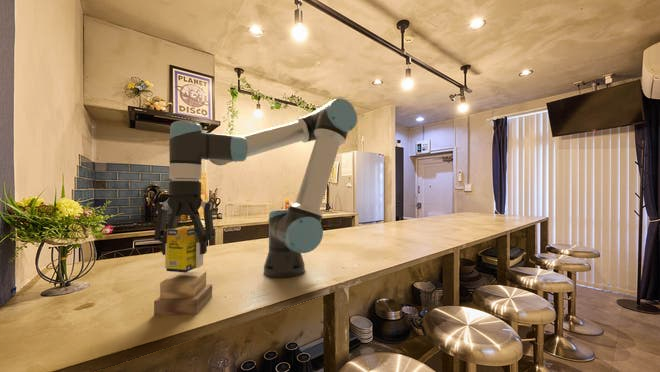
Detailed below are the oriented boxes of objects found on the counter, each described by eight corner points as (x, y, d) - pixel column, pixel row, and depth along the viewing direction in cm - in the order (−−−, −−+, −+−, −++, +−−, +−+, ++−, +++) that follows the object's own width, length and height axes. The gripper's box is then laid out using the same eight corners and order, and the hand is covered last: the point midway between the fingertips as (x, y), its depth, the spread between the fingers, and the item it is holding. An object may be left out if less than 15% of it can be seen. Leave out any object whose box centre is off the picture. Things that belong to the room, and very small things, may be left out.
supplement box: (185, 273, 64) (186, 229, 64) (165, 271, 65) (166, 229, 65) (202, 266, 70) (202, 226, 70) (183, 264, 71) (183, 225, 71)
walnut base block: (212, 298, 72) (212, 284, 72) (196, 315, 62) (196, 299, 62) (175, 299, 71) (175, 285, 72) (153, 317, 61) (154, 300, 62)
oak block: (206, 285, 71) (206, 271, 71) (194, 297, 63) (194, 281, 64) (176, 286, 71) (176, 272, 71) (160, 298, 63) (160, 282, 63)
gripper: (228, 181, 72) (227, 261, 72) (154, 180, 71) (153, 263, 70) (219, 180, 65) (218, 270, 65) (136, 179, 63) (135, 272, 63)
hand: (184, 266), depth 67 cm, fingers closed on supplement box, 7 cm apart
